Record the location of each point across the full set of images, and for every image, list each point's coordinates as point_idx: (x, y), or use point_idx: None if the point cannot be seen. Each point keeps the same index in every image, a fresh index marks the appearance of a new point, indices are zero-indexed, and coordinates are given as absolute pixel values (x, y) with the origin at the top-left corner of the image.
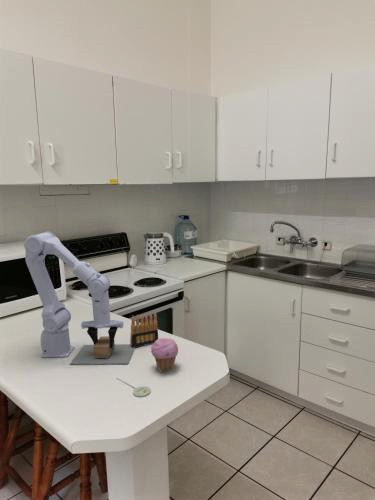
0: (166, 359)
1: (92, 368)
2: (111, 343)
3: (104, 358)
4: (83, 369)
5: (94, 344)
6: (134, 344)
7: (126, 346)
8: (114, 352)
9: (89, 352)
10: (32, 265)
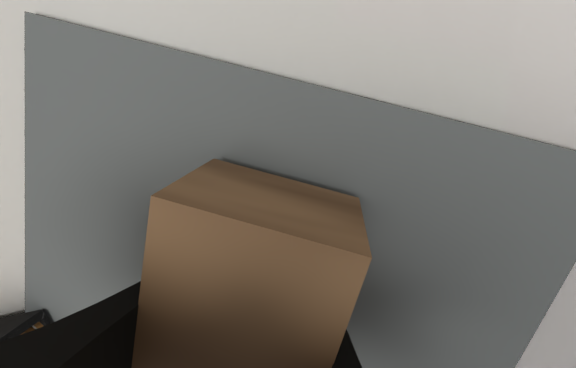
0: None
1: (377, 14)
2: (118, 296)
3: None
4: (477, 13)
5: (352, 357)
6: (4, 327)
7: None
8: None
9: (401, 343)
10: None
